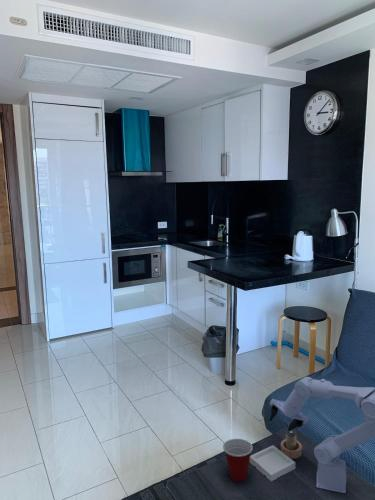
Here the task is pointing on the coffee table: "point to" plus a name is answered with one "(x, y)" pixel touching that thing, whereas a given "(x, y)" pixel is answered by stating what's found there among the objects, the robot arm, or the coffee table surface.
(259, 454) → the grey tray
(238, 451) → the plastic cup
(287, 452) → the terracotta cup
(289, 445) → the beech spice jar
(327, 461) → the robot arm
